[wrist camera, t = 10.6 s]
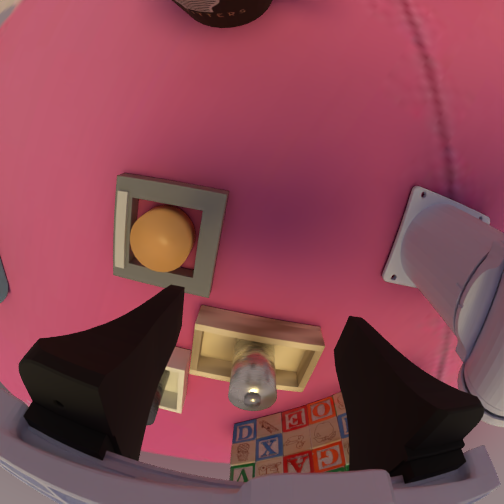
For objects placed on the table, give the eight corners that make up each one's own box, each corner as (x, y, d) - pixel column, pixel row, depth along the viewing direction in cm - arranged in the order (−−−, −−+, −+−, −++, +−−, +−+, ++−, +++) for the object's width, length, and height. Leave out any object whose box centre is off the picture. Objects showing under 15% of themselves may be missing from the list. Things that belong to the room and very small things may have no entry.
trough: (319, 326, 24) (325, 346, 22) (299, 372, 26) (302, 392, 24) (201, 304, 24) (195, 323, 21) (194, 354, 26) (189, 373, 23)
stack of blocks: (256, 444, 32) (253, 523, 21) (233, 422, 30) (224, 512, 19) (414, 390, 28) (447, 470, 17) (409, 360, 26) (452, 451, 15)
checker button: (199, 211, 20) (193, 219, 19) (191, 266, 22) (185, 278, 20) (142, 200, 20) (131, 207, 18) (138, 254, 22) (128, 264, 20)
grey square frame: (229, 191, 20) (226, 195, 19) (211, 290, 23) (208, 299, 22) (124, 173, 20) (115, 176, 18) (119, 268, 23) (111, 276, 21)
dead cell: (170, 362, 26) (152, 414, 20) (169, 383, 27) (153, 433, 21) (137, 353, 26) (114, 402, 20) (138, 375, 27) (118, 422, 21)
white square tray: (190, 350, 26) (184, 370, 23) (186, 394, 28) (181, 413, 26) (121, 331, 25) (110, 349, 23) (126, 377, 28) (117, 395, 25)
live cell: (273, 327, 24) (276, 386, 18) (275, 357, 25) (277, 414, 19) (232, 329, 24) (224, 388, 18) (237, 359, 25) (231, 416, 19)
